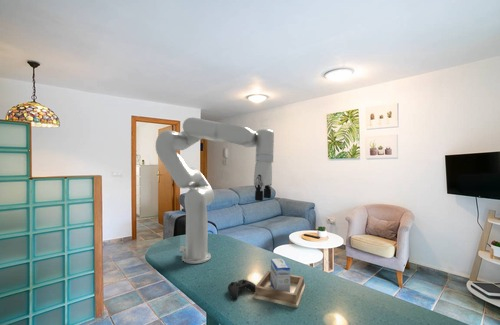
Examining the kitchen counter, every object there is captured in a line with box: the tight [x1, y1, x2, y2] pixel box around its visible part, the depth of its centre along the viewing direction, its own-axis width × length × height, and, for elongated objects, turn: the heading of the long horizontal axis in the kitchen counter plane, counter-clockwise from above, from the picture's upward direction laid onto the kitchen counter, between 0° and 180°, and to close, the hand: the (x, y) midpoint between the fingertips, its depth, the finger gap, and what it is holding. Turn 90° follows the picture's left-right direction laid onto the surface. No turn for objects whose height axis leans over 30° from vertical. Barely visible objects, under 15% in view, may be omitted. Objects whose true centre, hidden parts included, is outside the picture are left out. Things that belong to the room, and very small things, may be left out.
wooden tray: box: [252, 270, 306, 309], centre depth 80 cm, size 14×14×3 cm
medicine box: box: [270, 258, 291, 292], centre depth 80 cm, size 8×4×9 cm, turn 11°
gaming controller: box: [227, 279, 257, 301], centre depth 80 cm, size 10×5×6 cm
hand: (263, 199), depth 103 cm, fingers open, 9 cm apart
